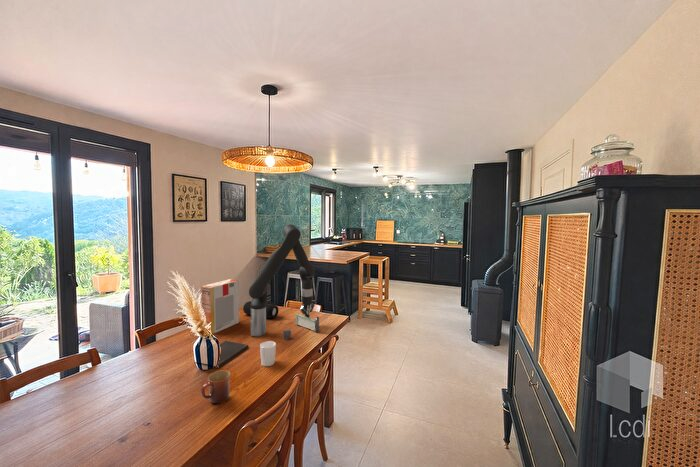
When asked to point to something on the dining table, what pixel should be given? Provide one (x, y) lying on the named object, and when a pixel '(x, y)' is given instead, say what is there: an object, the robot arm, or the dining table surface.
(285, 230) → the robot arm
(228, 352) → the hardcover book
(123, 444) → the dining table surface
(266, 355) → the white cup
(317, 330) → the hinge post
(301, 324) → the gate
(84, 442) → the dining table surface
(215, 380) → the mug
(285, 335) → the latch block
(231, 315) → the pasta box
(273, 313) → the portable speaker
